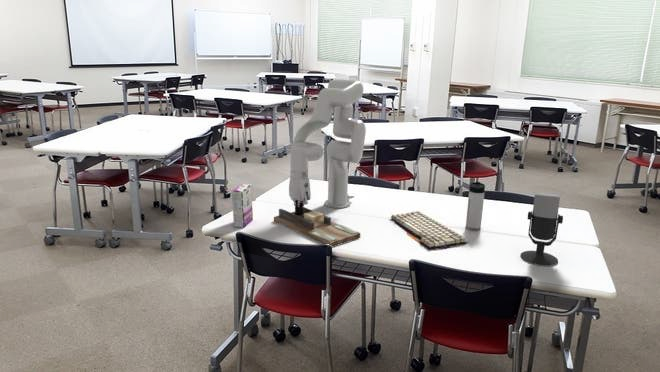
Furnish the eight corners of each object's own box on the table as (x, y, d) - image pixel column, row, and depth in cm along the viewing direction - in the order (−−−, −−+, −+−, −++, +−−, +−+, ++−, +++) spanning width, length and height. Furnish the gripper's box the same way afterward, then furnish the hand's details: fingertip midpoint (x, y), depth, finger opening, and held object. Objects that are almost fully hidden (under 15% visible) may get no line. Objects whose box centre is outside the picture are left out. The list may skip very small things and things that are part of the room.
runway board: (302, 213, 228) (302, 203, 227) (360, 237, 201) (360, 226, 199) (273, 221, 218) (273, 210, 216) (330, 247, 190) (331, 235, 189)
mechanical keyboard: (383, 220, 223) (384, 213, 222) (420, 216, 230) (420, 209, 229) (430, 252, 189) (431, 244, 188) (471, 246, 196) (472, 238, 195)
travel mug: (480, 226, 216) (485, 182, 210) (480, 231, 210) (485, 186, 204) (466, 224, 218) (470, 180, 212) (465, 229, 212) (469, 184, 206)
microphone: (556, 255, 187) (566, 192, 180) (558, 268, 175) (569, 202, 169) (520, 249, 191) (528, 188, 185) (520, 262, 180) (528, 197, 173)
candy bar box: (242, 218, 220) (241, 183, 216) (253, 219, 219) (252, 184, 215) (232, 227, 210) (231, 190, 205) (243, 228, 209) (242, 191, 204)
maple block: (314, 220, 213) (314, 210, 212) (323, 224, 209) (323, 214, 208) (303, 223, 210) (303, 213, 208) (312, 227, 205) (313, 217, 204)
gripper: (317, 176, 208) (316, 217, 213) (295, 169, 219) (295, 208, 224) (303, 179, 203) (302, 221, 208) (281, 172, 214) (281, 212, 219)
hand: (298, 214), depth 216 cm, fingers closed
